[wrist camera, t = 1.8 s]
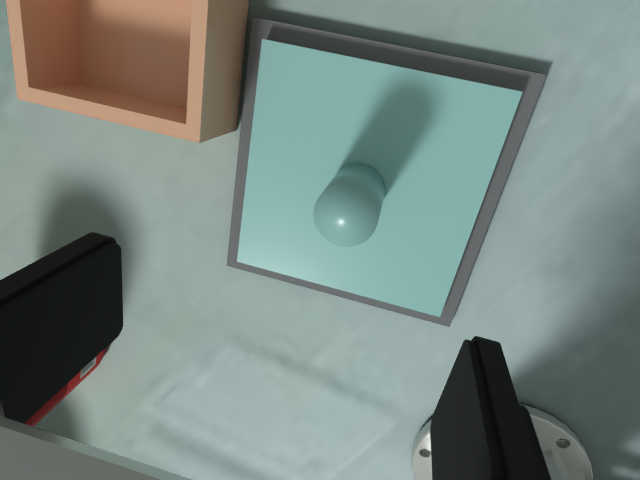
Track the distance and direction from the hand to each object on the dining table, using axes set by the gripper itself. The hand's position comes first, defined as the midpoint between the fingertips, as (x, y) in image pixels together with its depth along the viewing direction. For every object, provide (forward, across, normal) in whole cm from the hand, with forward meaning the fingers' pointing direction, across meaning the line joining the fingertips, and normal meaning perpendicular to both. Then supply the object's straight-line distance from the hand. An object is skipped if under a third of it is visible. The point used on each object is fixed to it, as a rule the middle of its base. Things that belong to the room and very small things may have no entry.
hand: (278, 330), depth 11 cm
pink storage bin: (+17, +14, -6) cm, 23 cm away
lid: (+16, 0, 0) cm, 16 cm away
